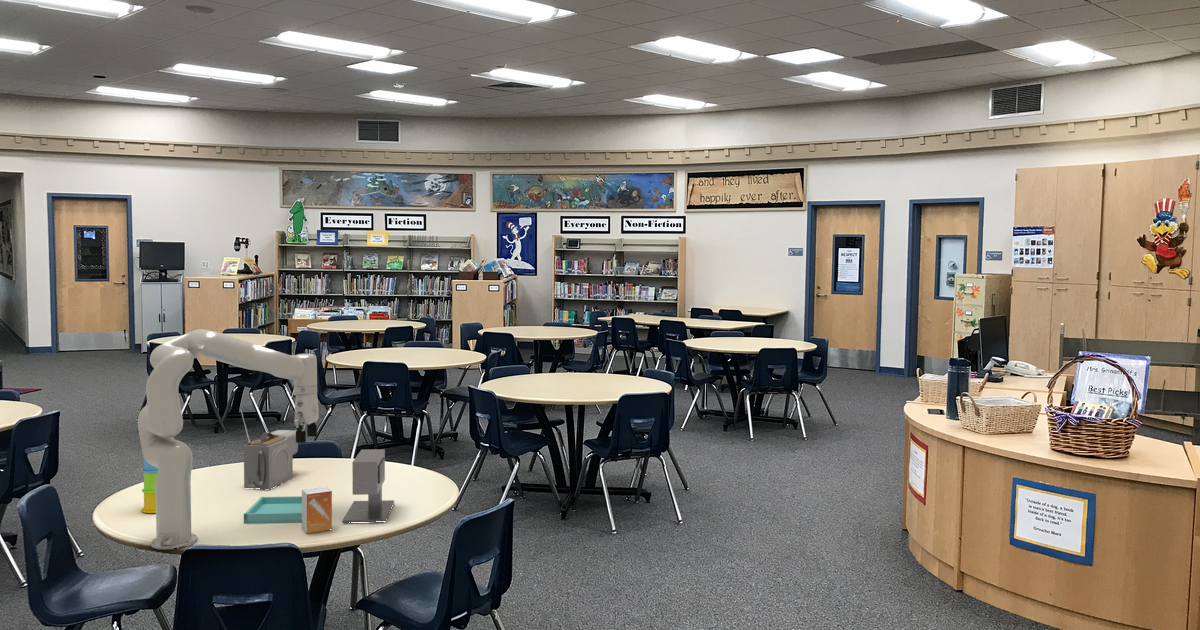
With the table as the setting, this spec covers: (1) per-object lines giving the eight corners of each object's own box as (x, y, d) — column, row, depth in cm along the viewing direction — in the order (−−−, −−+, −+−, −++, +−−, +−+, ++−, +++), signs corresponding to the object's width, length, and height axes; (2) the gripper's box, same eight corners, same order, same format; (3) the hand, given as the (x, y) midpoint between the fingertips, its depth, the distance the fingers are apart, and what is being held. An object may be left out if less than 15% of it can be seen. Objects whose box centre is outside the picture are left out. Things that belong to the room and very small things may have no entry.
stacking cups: (136, 514, 280) (134, 413, 277) (150, 505, 290) (148, 407, 288) (168, 514, 281) (166, 413, 278) (180, 505, 291) (178, 407, 288)
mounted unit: (385, 523, 275) (385, 463, 274) (342, 524, 273) (341, 463, 272) (394, 503, 297) (394, 447, 295) (354, 504, 295) (353, 448, 294)
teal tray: (312, 521, 275) (312, 512, 275) (243, 523, 272) (243, 514, 272) (325, 504, 295) (325, 495, 295) (261, 505, 292) (261, 496, 292)
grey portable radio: (300, 475, 333) (299, 401, 331) (268, 491, 310) (267, 411, 308) (272, 473, 335) (271, 399, 333) (238, 489, 311) (237, 410, 309)
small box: (306, 534, 263) (306, 494, 262) (301, 528, 268) (301, 489, 267) (332, 530, 267) (332, 490, 266) (327, 524, 272) (326, 485, 271)
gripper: (306, 394, 274) (307, 445, 276) (325, 386, 292) (326, 434, 293) (284, 394, 275) (285, 445, 276) (304, 385, 292) (305, 433, 293)
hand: (306, 439), depth 285 cm, fingers open, 9 cm apart
